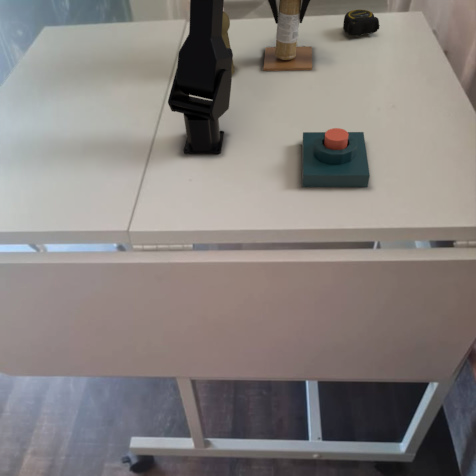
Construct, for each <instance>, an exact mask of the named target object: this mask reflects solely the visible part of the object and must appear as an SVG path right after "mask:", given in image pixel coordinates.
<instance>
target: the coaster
mask: <svg viewBox="0 0 476 476" xmlns="http://www.w3.org/2000/svg"><path fill="white" fill-rule="evenodd" d="M312 49H313V48H312V46H296V56H295V58H293V59H290V60H282V59H279V58H277V57H276V56H275V51H276V46H274V47H273V46H267V47H265V52H264V58H263V59H264V60H263V69H262V71H263V72H275V71H278V72H279V71H312V70H313V51H312Z"/></svg>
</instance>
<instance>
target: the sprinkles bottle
mask: <svg viewBox="0 0 476 476" xmlns="http://www.w3.org/2000/svg"><path fill="white" fill-rule="evenodd" d="M278 2H279V4H278V5H279V6H278V24H276V36H275V39H276V40H275V47H276V51H275V56H276V57H277V58H279V59H282V60H290V59H293V58H295V56H296V47H297V45H298V44H297V43H298V38H299V29H300V10H301V4H302V0H279V1H278Z"/></svg>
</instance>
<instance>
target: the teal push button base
mask: <svg viewBox="0 0 476 476" xmlns="http://www.w3.org/2000/svg"><path fill="white" fill-rule="evenodd" d="M347 132H348V134H349V136H348V143H347V147H346V148H345V149H342V150H331V149H328V148H326V147H325V146H324V139H325V133H326V131H323V132H322V131H309V132H308V131H306V132H305V131H304V132H302V145H301V147H302V148H301V153H302V155H301V157H302V159H301V164H302V166H301V169H302V170H301V173H302V175H301V178H302V179H301V180H302V181H301V182H302V183H301V184H302V185H301V186H302V187H303V188H368V187H369V182H370V177H371V176H370V175H371V174H370V168H369V160H368V153H367V146H366V140H365V132H364V131H347Z"/></svg>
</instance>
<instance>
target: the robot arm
mask: <svg viewBox="0 0 476 476" xmlns="http://www.w3.org/2000/svg"><path fill="white" fill-rule="evenodd" d="M267 2H268V4H269V6H270V10H271V13H272V16H273V19H274V22H275V24H276V25H277V24H278V13H279V7H278V0H267ZM310 2H311V0H301V8H300V21H299V24H302V23H303V21H304V19H305V15H306V13H307V9H308V7H309V4H310ZM224 4H225V0H189V27H188V28H189V29H188V35H187V36H186V38H185V40H184V42H183V44H182V45H181V47H180V49H179V51H178V54H177V63H176V64H177V65H176V70H175V73H174V77H173V81H172V85H171V88H170V91H169V95H168V100H167V104H168V106H169V109H170V111H171V112H174V113H180V114H183V120H184V127H185V133H186V138H185V141H184V145H183V154H184V155H220V154H222V151H223V144H224V138H225V131H224V130H221V129H220V121H219V119H220V118H221V117H223V115H224V114H225V113H226V112H227V111H229V110H230V100H231V91H232V77H233V75H232V72H231V68H232V59H233V60H234V58H233V57H234V53H233V49H232V48H226V45H225V43H224V41H223V38H222V21H223V12H224Z"/></svg>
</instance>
